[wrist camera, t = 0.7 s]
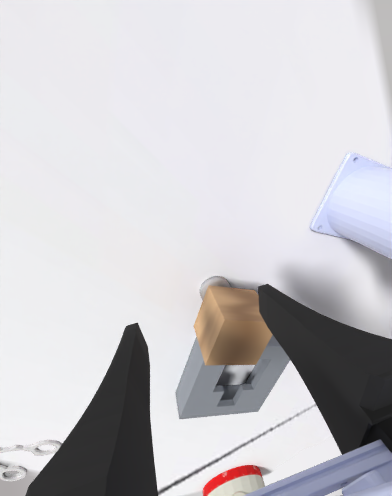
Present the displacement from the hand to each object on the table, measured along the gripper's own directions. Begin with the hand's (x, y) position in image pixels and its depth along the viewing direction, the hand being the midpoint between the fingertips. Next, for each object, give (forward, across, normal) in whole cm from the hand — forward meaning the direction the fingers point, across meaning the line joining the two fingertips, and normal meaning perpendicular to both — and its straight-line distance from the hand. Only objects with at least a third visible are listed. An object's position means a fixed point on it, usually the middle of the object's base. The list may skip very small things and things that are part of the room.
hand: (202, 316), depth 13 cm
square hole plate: (+10, -3, +20) cm, 22 cm away
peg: (+10, -3, +7) cm, 12 cm away
